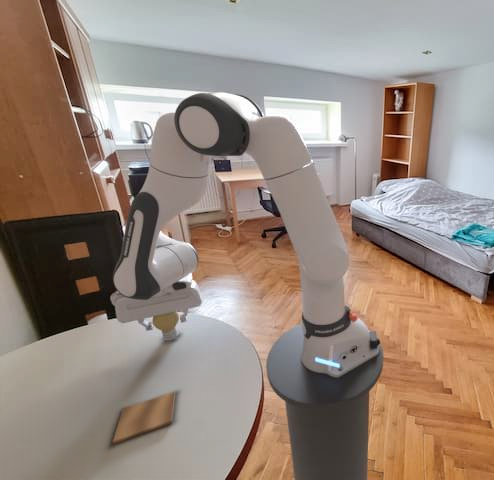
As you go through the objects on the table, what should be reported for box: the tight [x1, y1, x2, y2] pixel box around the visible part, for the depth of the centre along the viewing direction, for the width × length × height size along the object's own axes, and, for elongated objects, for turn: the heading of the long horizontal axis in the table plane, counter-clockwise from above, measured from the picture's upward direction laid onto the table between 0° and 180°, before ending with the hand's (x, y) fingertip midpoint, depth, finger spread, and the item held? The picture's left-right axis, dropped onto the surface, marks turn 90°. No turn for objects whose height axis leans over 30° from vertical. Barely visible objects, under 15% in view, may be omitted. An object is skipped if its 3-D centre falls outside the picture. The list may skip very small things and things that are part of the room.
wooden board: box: [112, 391, 176, 444], centre depth 62 cm, size 10×8×1 cm
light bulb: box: [151, 311, 180, 342], centre depth 84 cm, size 6×6×10 cm
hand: (167, 324), depth 84 cm, fingers open, 7 cm apart
